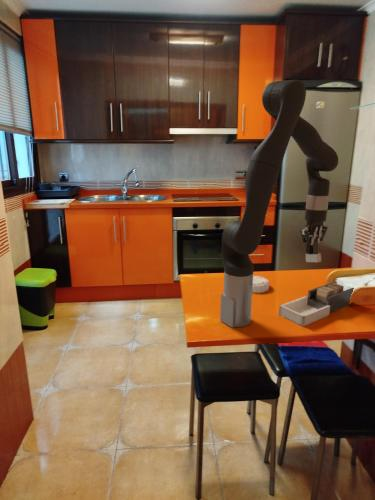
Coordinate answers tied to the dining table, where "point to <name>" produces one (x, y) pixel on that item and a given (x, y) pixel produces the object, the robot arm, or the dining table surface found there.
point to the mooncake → (260, 284)
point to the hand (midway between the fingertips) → (311, 253)
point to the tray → (302, 312)
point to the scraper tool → (314, 253)
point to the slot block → (330, 299)
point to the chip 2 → (336, 288)
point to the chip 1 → (324, 293)
